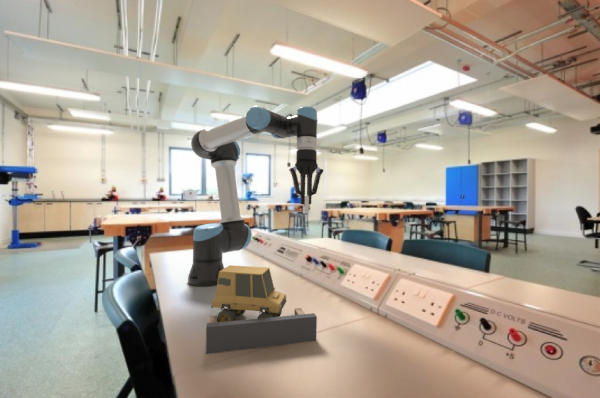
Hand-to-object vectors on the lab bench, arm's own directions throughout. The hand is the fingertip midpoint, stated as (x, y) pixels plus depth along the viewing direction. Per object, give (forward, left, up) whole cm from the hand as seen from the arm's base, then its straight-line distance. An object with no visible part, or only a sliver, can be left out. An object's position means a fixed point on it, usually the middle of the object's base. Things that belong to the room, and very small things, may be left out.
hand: (305, 213), depth 104 cm
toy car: (+21, -22, -30) cm, 42 cm away
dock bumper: (+33, -20, -30) cm, 49 cm away
